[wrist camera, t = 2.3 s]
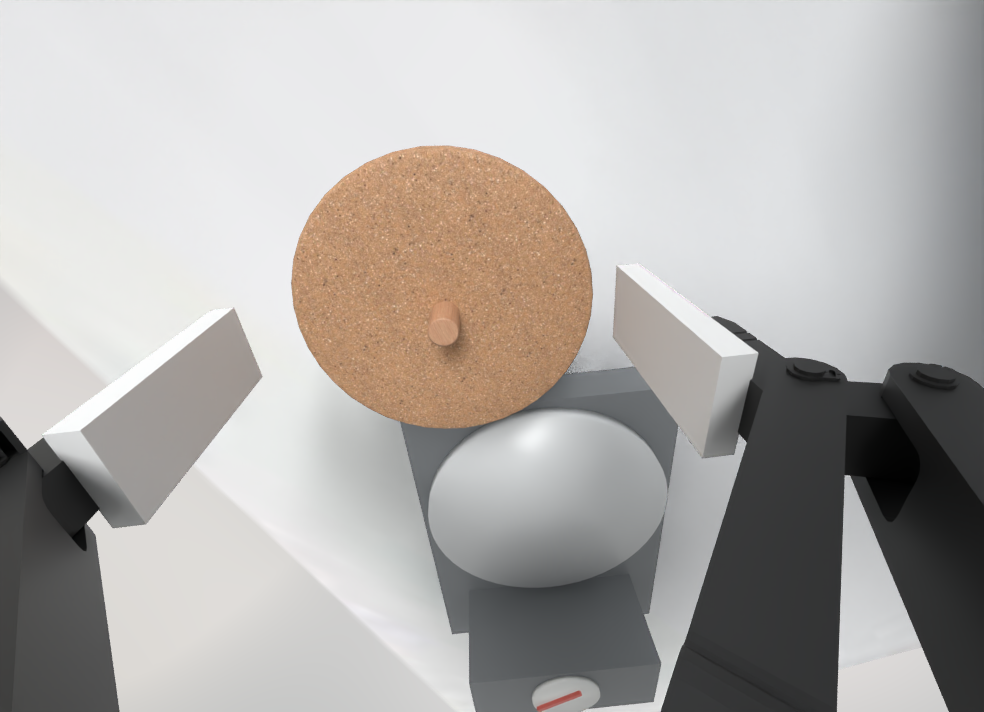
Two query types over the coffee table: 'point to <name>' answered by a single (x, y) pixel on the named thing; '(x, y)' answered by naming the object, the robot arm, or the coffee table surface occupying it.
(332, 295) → the lidded jar
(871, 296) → the coffee table surface
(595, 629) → the scale
